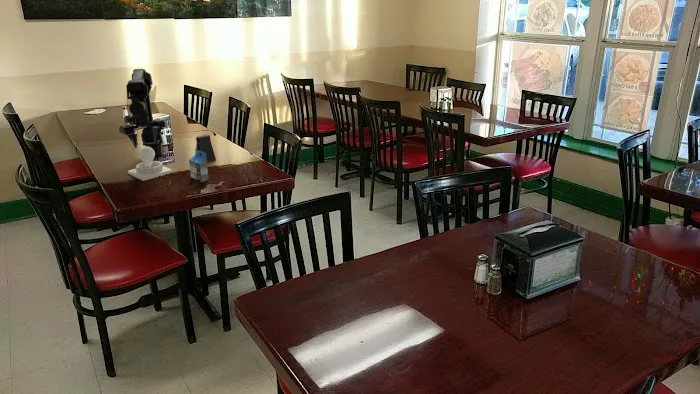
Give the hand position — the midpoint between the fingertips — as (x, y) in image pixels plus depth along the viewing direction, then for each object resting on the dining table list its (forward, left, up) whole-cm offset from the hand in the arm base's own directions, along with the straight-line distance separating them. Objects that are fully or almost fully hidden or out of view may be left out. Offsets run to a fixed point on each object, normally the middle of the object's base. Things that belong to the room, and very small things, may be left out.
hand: (145, 145), depth 226 cm
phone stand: (-28, +1, -13) cm, 31 cm away
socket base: (0, 0, -13) cm, 13 cm away
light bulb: (0, 0, -12) cm, 12 cm away
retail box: (-11, +23, -13) cm, 29 cm away
